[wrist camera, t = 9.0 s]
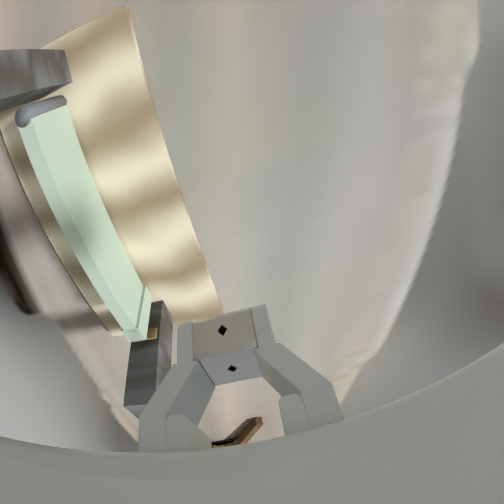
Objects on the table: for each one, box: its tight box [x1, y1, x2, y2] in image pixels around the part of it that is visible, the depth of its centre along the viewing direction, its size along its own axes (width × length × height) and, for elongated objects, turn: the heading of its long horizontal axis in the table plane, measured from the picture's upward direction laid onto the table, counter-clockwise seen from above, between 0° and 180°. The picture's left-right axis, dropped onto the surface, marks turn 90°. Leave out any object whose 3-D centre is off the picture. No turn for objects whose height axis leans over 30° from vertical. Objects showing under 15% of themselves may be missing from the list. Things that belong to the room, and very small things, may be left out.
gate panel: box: [15, 95, 152, 342], centre depth 20 cm, size 21×2×6 cm, turn 11°
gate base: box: [0, 7, 223, 419], centre depth 19 cm, size 31×14×13 cm, turn 11°
